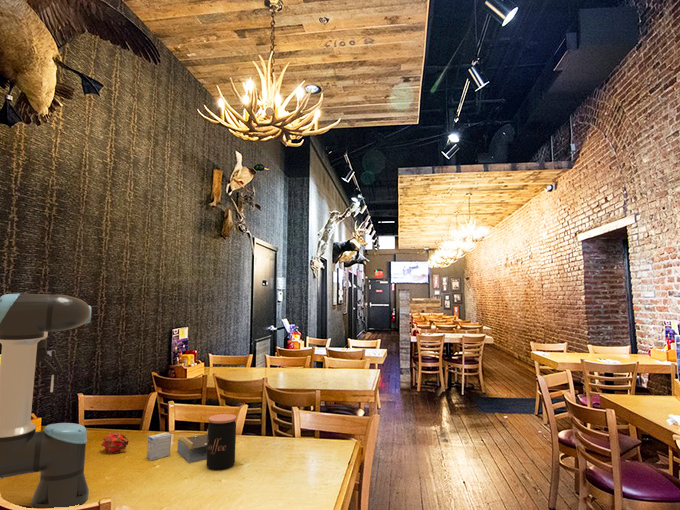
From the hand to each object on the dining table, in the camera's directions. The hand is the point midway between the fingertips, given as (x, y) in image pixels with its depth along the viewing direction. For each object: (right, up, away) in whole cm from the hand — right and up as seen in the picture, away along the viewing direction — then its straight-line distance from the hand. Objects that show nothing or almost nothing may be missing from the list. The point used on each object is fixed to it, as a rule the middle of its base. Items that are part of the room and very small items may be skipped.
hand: (30, 393), depth 167 cm
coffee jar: (+76, -27, -4) cm, 81 cm away
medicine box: (+48, -28, +5) cm, 56 cm away
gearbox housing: (+65, -28, +10) cm, 72 cm away
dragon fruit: (+27, -29, +12) cm, 41 cm away
